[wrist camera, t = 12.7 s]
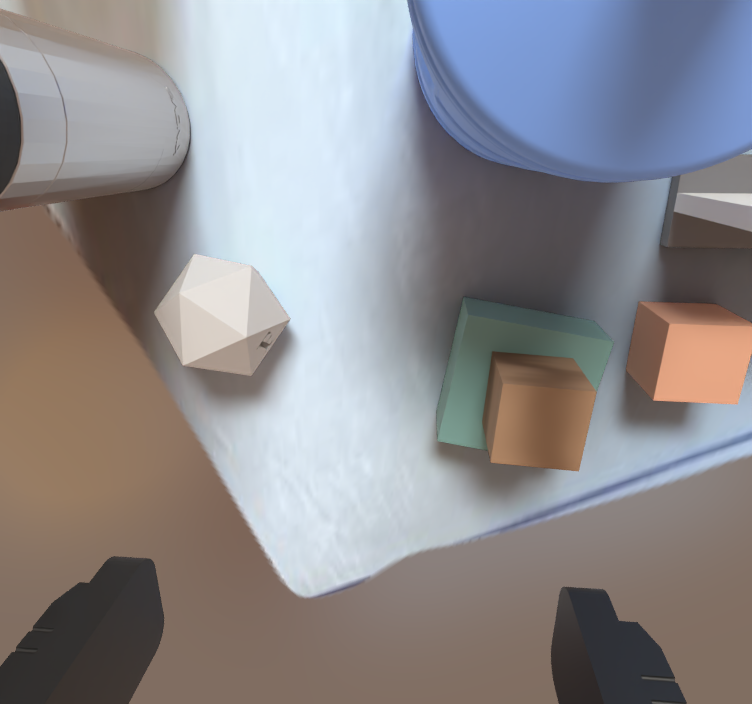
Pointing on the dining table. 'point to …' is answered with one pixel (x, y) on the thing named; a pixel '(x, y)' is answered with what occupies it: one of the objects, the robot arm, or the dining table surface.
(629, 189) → the dining table surface
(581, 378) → the walnut block
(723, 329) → the terracotta block
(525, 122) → the water jug
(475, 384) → the base block
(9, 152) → the robot arm
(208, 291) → the die
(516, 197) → the dining table surface
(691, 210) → the placard
